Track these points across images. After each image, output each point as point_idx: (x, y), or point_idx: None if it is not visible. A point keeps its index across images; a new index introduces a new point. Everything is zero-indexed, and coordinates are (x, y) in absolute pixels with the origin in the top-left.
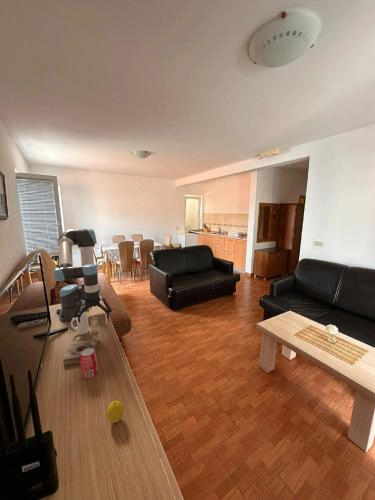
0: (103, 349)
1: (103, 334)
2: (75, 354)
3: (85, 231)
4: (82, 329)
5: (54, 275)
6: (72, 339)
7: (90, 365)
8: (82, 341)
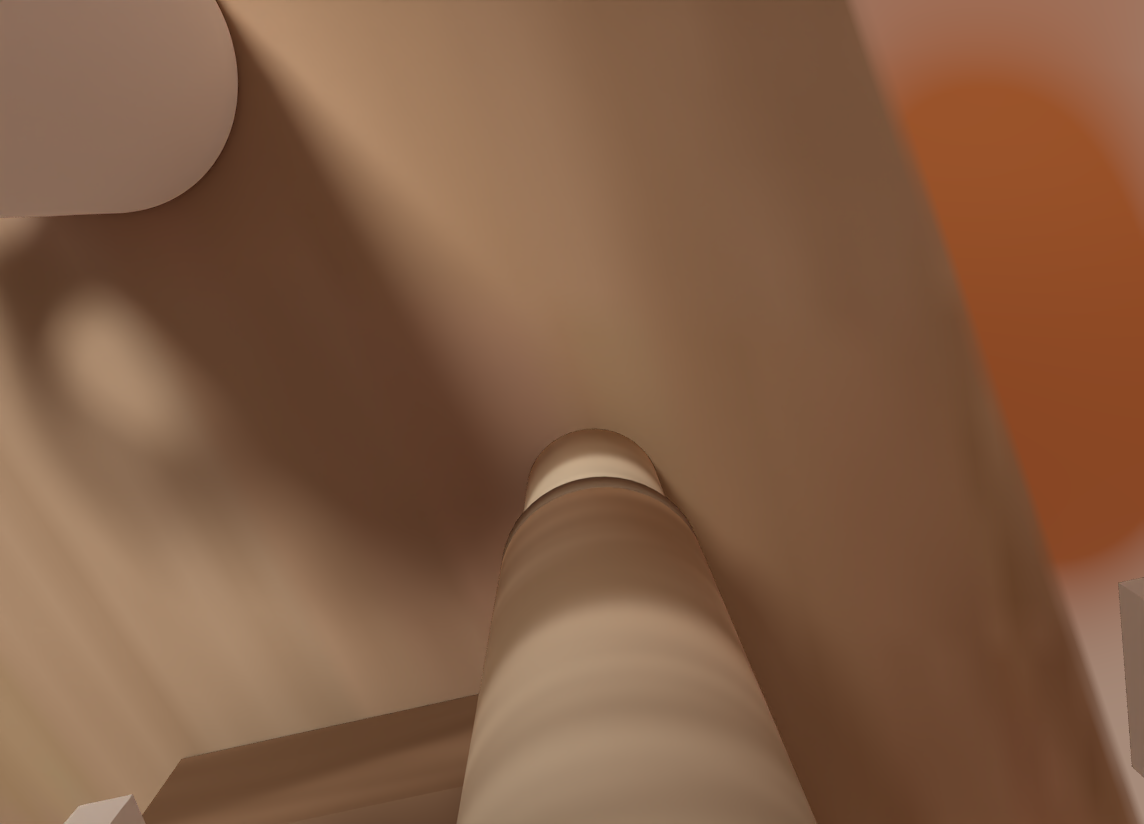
0: (847, 802)
1: (711, 259)
2: None
3: None
4: (64, 211)
5: None
6: (17, 422)
7: None
8: (385, 805)
